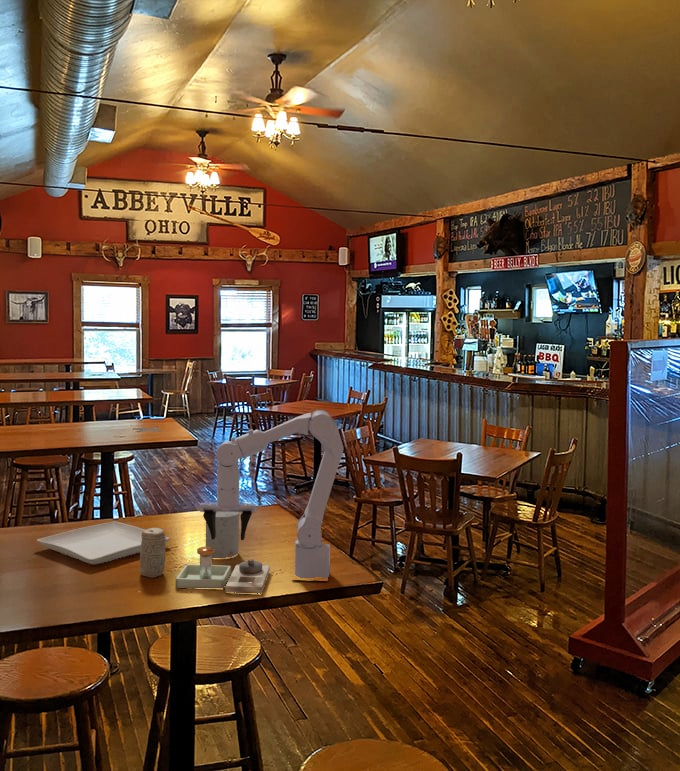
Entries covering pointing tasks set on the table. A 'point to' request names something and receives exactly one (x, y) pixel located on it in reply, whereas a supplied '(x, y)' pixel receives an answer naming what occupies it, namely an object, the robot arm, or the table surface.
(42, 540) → the square plate
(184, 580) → the tray
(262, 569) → the white holder block
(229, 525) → the grey cylinder
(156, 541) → the carving
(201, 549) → the pin
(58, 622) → the table surface
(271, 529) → the table surface
